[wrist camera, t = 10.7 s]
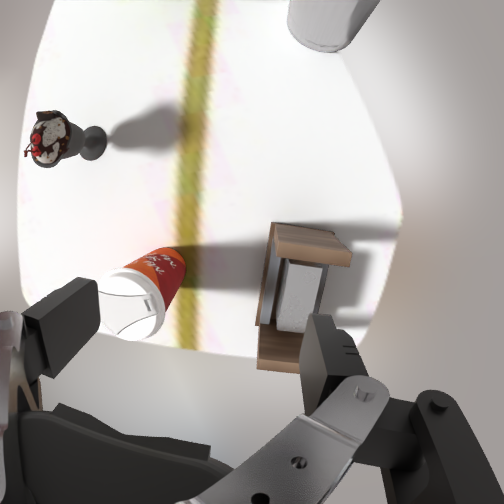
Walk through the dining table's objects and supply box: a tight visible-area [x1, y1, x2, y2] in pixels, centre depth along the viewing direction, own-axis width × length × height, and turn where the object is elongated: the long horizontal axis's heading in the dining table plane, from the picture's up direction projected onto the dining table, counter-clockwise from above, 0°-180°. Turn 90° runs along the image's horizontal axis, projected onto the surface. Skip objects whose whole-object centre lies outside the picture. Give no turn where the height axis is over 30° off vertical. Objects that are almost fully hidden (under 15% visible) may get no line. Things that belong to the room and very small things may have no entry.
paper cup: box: [98, 248, 186, 341], centre depth 34 cm, size 8×8×14 cm
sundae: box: [24, 110, 106, 168], centre depth 29 cm, size 7×7×15 cm
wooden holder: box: [255, 222, 352, 374], centre depth 35 cm, size 14×8×11 cm, turn 172°
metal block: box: [276, 258, 323, 333], centre depth 36 cm, size 8×4×6 cm, turn 172°
